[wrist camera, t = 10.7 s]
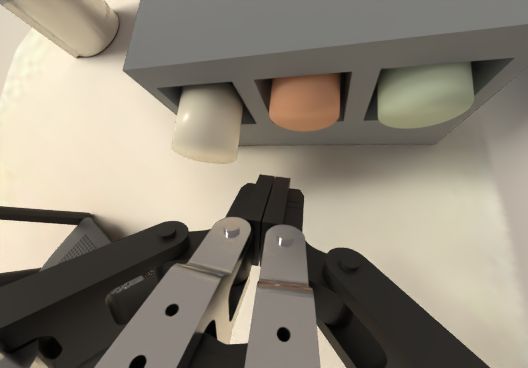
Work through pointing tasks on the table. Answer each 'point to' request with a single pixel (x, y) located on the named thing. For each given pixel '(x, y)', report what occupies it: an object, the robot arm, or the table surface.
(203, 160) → the cream button
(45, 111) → the table surface
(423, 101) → the sage button
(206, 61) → the button panel
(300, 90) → the terracotta button
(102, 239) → the router
